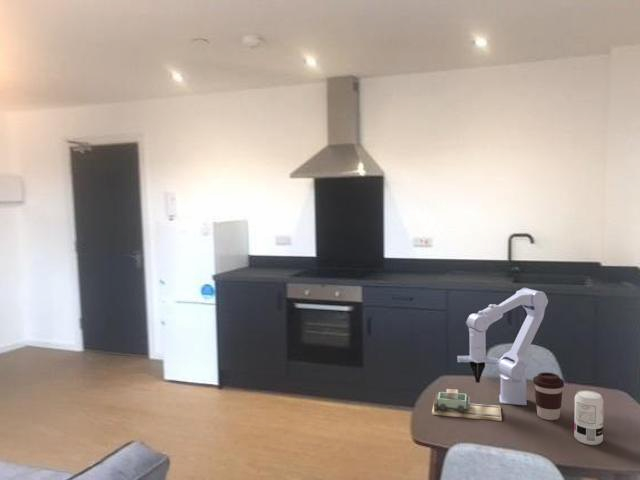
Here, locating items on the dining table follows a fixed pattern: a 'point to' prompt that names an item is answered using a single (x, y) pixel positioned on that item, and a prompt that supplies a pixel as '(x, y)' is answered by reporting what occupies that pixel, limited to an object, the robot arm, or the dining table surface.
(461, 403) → the cart
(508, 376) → the robot arm
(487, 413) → the track board
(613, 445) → the dining table surface
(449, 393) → the block
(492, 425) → the dining table surface
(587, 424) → the supplement can
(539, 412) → the coffee cup
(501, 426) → the dining table surface
